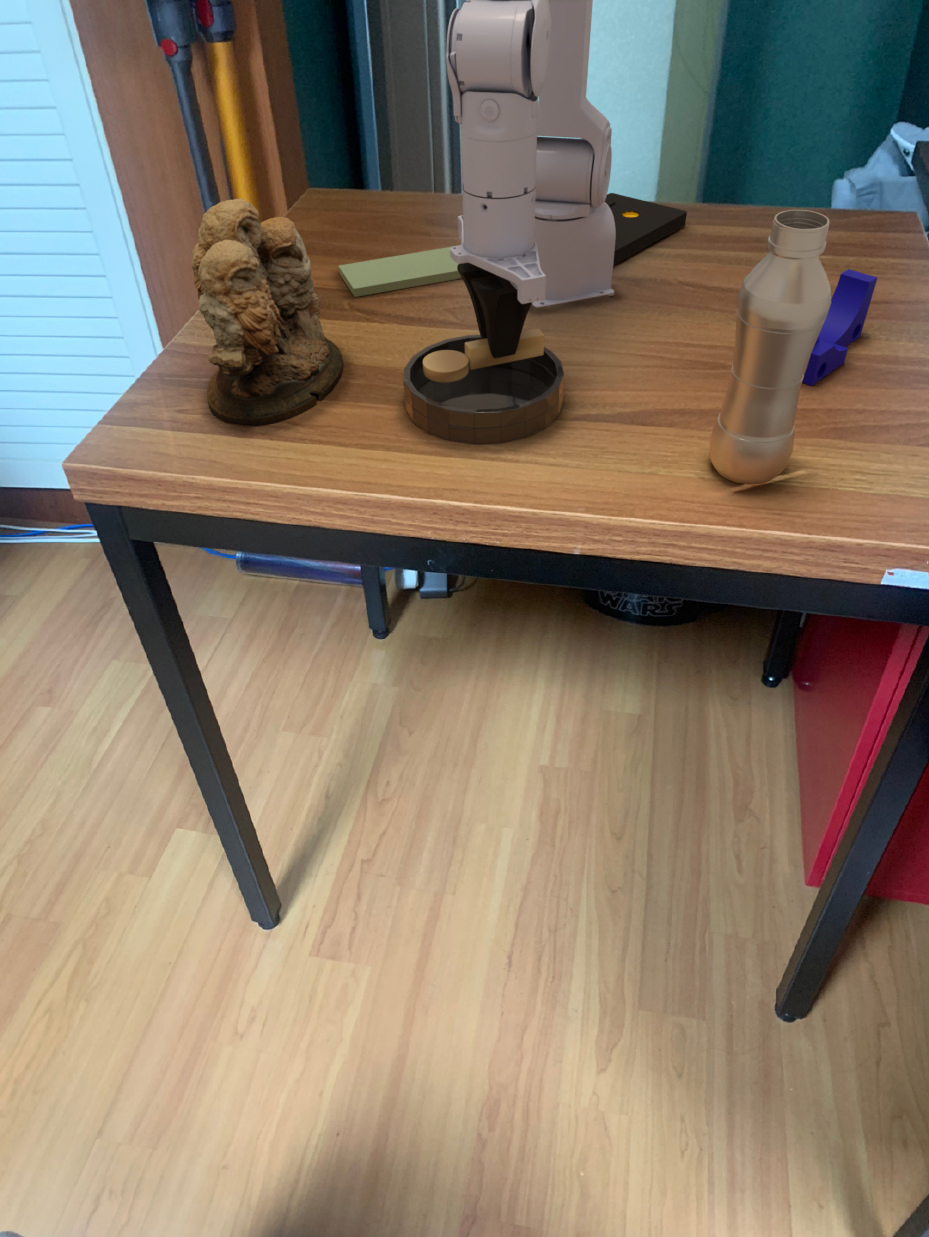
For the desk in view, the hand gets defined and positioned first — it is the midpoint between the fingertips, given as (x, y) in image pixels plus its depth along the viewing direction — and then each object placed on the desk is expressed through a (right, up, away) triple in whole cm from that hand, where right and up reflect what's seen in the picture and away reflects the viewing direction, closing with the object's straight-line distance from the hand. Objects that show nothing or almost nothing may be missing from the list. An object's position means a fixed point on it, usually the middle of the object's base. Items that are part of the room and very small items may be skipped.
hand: (499, 349), depth 78 cm
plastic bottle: (+20, -12, -5) cm, 24 cm away
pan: (-1, -4, +3) cm, 5 cm away
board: (-7, +17, +26) cm, 32 cm away
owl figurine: (-21, -2, +7) cm, 22 cm away
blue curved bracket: (+32, +2, +8) cm, 33 cm away
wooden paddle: (-1, -1, 0) cm, 2 cm away
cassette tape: (+14, +23, +31) cm, 42 cm away
